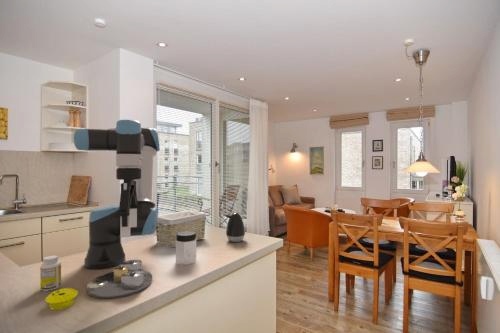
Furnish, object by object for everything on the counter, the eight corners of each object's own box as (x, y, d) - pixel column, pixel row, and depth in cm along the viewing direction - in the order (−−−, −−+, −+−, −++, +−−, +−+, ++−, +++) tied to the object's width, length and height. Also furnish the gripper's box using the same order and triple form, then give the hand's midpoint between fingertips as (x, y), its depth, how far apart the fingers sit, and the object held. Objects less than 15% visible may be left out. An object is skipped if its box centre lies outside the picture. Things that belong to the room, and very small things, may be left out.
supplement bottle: (54, 283, 94) (53, 253, 94) (65, 285, 92) (64, 255, 92) (36, 290, 89) (36, 259, 89) (47, 293, 87) (47, 261, 87)
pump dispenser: (223, 239, 150) (223, 211, 150) (242, 237, 153) (242, 210, 153) (228, 244, 140) (227, 214, 140) (247, 242, 143) (247, 213, 143)
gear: (70, 295, 85) (40, 306, 79) (70, 283, 85) (40, 293, 79) (83, 302, 81) (52, 314, 74) (83, 290, 81) (52, 301, 74)
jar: (179, 266, 109) (179, 236, 109) (172, 260, 116) (172, 232, 116) (199, 262, 114) (199, 233, 114) (192, 256, 121) (192, 229, 121)
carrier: (72, 292, 87) (72, 273, 87) (122, 270, 106) (122, 253, 106) (120, 303, 80) (120, 282, 80) (164, 277, 99) (164, 260, 99)
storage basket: (170, 249, 132) (170, 219, 132) (152, 243, 143) (152, 215, 143) (207, 239, 151) (207, 212, 151) (189, 234, 161) (189, 209, 161)
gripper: (135, 167, 78) (135, 240, 79) (145, 167, 103) (145, 223, 103) (106, 167, 76) (107, 242, 77) (123, 167, 101) (124, 224, 101)
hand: (129, 231), depth 90 cm, fingers open, 13 cm apart
